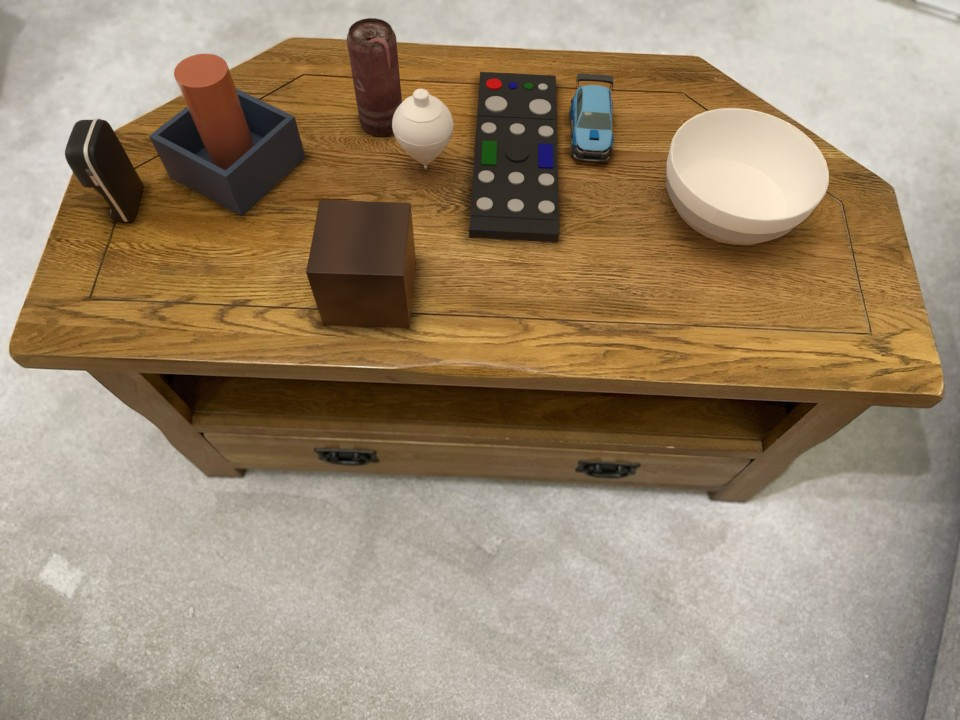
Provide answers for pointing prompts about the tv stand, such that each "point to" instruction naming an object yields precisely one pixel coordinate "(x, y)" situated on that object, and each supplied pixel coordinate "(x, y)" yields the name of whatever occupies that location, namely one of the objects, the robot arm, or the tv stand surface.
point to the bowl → (744, 175)
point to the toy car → (592, 120)
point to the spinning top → (422, 126)
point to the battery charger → (104, 167)
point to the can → (375, 74)
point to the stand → (363, 263)
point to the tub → (249, 173)
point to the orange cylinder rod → (214, 107)
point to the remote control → (515, 159)
